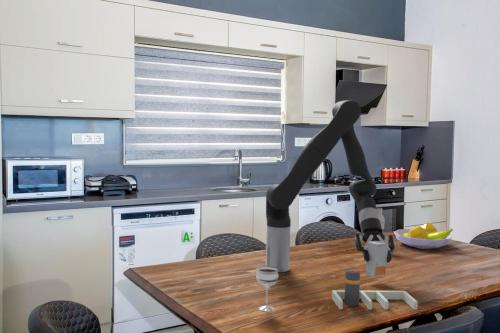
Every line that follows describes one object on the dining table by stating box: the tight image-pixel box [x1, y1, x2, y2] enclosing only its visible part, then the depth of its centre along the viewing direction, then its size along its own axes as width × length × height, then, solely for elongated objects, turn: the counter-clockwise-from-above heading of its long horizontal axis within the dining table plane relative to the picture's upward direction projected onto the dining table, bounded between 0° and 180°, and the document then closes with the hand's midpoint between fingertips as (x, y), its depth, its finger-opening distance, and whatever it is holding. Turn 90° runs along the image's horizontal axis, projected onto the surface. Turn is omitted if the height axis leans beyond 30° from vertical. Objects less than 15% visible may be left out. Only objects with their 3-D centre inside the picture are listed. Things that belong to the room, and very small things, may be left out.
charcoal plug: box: [343, 270, 361, 307], centre depth 144 cm, size 5×5×10 cm
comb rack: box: [331, 289, 418, 311], centre depth 145 cm, size 24×10×2 cm, turn 93°
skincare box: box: [365, 241, 389, 278], centre depth 166 cm, size 6×4×12 cm
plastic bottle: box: [376, 207, 386, 232], centre depth 216 cm, size 6×7×20 cm
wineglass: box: [255, 265, 280, 313], centre depth 139 cm, size 7×7×12 cm
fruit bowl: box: [393, 222, 454, 250], centre depth 228 cm, size 28×27×11 cm
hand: (378, 261), depth 165 cm, fingers closed on skincare box, 7 cm apart
